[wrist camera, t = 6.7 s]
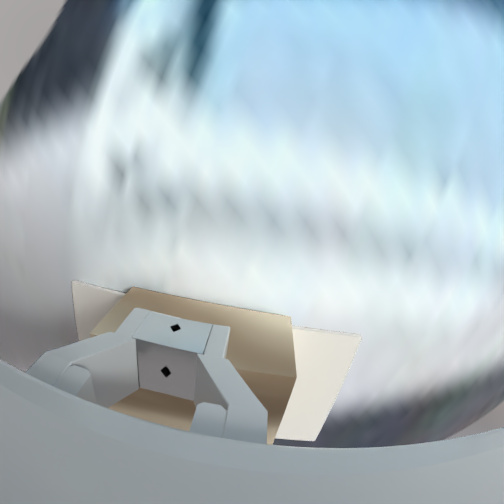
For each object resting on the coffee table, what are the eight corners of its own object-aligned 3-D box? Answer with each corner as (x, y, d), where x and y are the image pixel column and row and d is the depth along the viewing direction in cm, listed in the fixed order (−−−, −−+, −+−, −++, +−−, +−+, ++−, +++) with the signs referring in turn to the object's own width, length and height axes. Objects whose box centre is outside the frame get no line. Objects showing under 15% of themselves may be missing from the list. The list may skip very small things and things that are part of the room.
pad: (74, 280, 15) (71, 282, 15) (360, 334, 15) (362, 337, 15) (91, 391, 18) (89, 394, 18) (314, 437, 18) (314, 441, 18)
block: (89, 333, 10) (113, 446, 13) (297, 377, 10) (258, 478, 13) (132, 286, 15) (138, 395, 17) (290, 316, 15) (261, 421, 17)
